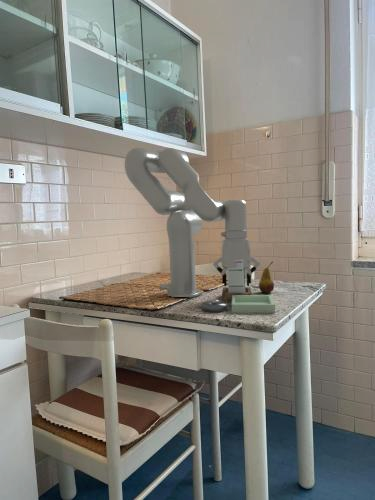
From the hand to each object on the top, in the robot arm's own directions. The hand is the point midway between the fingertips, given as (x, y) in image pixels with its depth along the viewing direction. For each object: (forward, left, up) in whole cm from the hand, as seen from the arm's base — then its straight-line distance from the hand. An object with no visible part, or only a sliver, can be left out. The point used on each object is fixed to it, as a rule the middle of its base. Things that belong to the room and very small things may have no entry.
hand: (236, 285), depth 134 cm
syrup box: (0, 0, -5) cm, 5 cm away
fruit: (+11, +10, -5) cm, 16 cm away
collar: (0, 0, -5) cm, 5 cm away
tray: (+5, -12, -5) cm, 14 cm away
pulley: (-7, -15, -5) cm, 17 cm away
